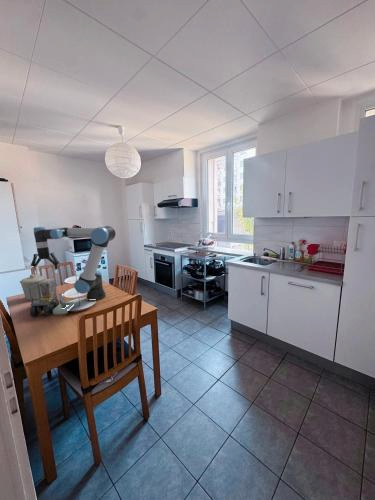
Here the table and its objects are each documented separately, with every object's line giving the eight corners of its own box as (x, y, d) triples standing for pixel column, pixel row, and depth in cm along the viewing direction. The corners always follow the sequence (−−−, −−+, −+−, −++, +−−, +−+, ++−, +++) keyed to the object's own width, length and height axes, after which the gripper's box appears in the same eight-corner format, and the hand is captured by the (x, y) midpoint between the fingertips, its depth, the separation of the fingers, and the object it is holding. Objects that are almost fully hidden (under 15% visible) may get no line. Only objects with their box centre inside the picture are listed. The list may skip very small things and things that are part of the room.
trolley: (60, 307, 164) (56, 280, 160) (48, 317, 148) (43, 287, 144) (44, 308, 163) (39, 281, 159) (30, 318, 148) (25, 288, 144)
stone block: (53, 306, 165) (49, 282, 161) (43, 308, 163) (39, 283, 160) (58, 300, 178) (55, 277, 174) (49, 301, 176) (45, 278, 172)
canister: (28, 303, 172) (24, 278, 168) (19, 299, 182) (14, 275, 178) (52, 295, 187) (48, 273, 184) (42, 292, 197) (38, 270, 193)
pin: (66, 307, 160) (63, 293, 157) (65, 309, 157) (62, 294, 154) (62, 308, 160) (59, 293, 157) (61, 310, 157) (57, 295, 154)
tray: (74, 306, 165) (73, 301, 165) (66, 313, 153) (65, 309, 152) (62, 306, 165) (61, 302, 164) (53, 314, 152) (52, 310, 151)
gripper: (61, 245, 167) (65, 271, 171) (28, 247, 165) (33, 273, 169) (56, 247, 160) (61, 274, 163) (22, 249, 158) (27, 276, 162)
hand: (47, 273), depth 166 cm, fingers open, 13 cm apart
